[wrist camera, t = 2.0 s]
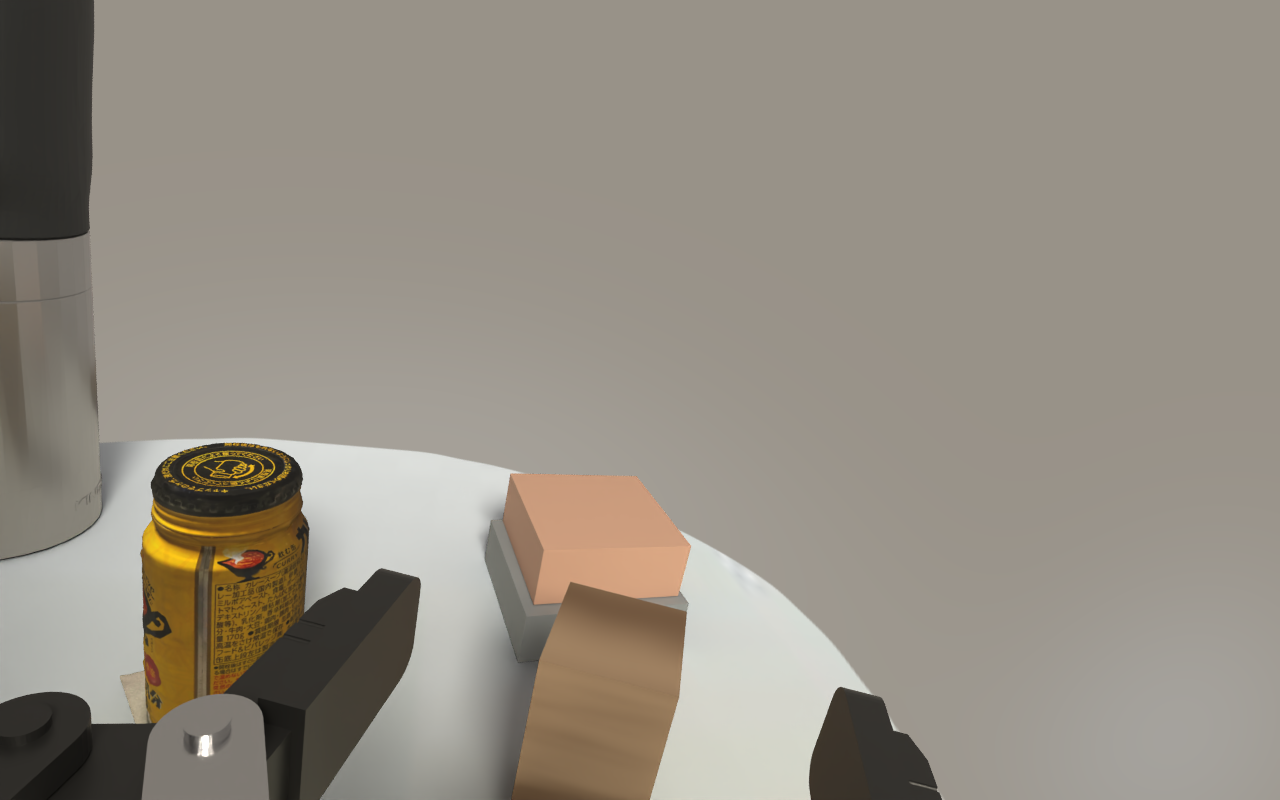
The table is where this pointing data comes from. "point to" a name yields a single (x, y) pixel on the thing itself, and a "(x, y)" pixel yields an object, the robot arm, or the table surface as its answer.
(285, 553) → the condiment
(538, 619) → the tower bottom
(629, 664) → the tall block
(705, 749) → the table surface
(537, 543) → the tower top
